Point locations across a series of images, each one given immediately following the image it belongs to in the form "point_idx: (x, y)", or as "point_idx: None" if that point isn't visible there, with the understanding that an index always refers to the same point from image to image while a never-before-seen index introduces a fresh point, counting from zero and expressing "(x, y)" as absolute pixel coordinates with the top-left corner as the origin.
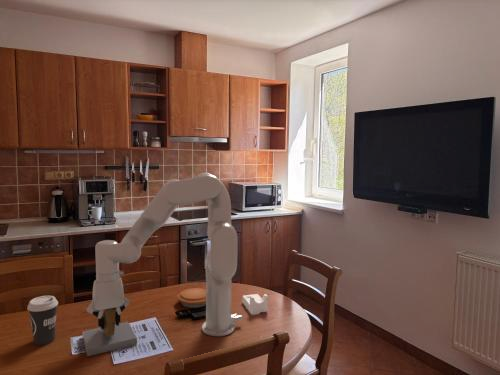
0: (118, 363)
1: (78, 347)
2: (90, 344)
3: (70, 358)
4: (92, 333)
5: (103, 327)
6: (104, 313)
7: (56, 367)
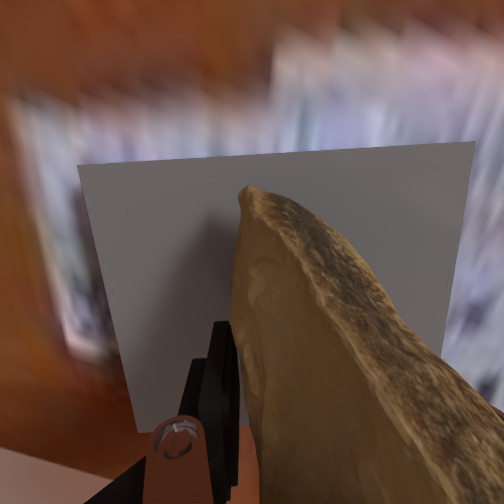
0: None
1: (92, 290)
2: (154, 390)
3: (66, 385)
4: (163, 242)
5: (239, 398)
6: (261, 500)
7: (14, 433)
